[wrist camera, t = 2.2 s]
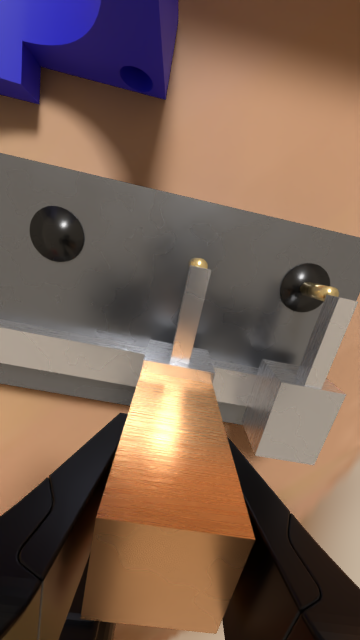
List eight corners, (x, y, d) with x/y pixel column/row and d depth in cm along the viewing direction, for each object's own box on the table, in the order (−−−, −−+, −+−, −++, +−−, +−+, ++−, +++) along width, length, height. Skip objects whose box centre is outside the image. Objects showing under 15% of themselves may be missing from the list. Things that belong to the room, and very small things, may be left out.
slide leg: (190, 406, 14) (211, 646, 5) (139, 398, 13) (78, 633, 5) (226, 264, 11) (359, 287, 3) (167, 251, 11) (138, 239, 3)
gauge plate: (289, 418, 16) (334, 485, 12) (-36, 362, 15) (-134, 411, 10) (358, 243, 13) (458, 237, 9) (-44, 150, 12) (-192, 79, 7)
